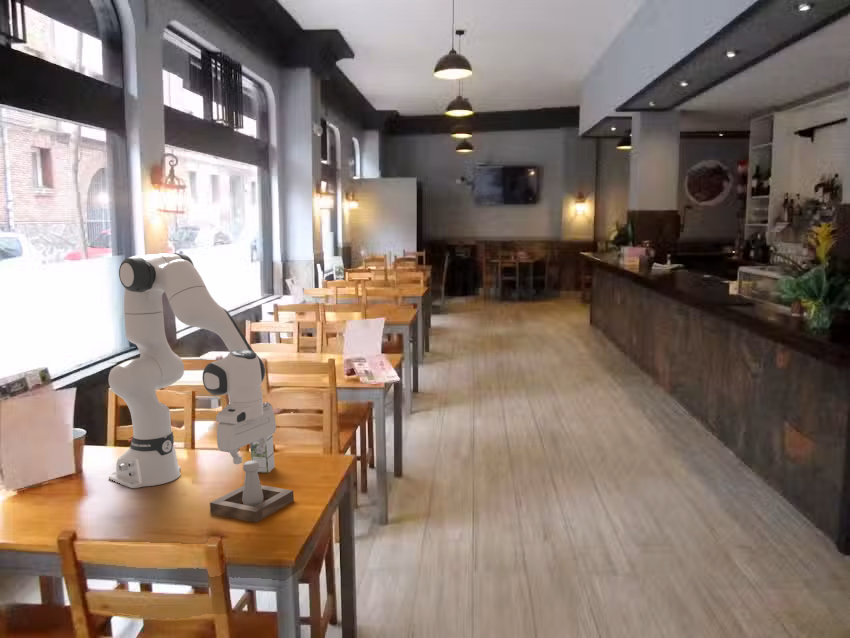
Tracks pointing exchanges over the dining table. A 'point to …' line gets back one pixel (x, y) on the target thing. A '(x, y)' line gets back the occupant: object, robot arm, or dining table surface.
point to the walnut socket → (232, 509)
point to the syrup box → (263, 455)
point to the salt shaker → (252, 485)
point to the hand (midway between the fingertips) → (249, 458)
